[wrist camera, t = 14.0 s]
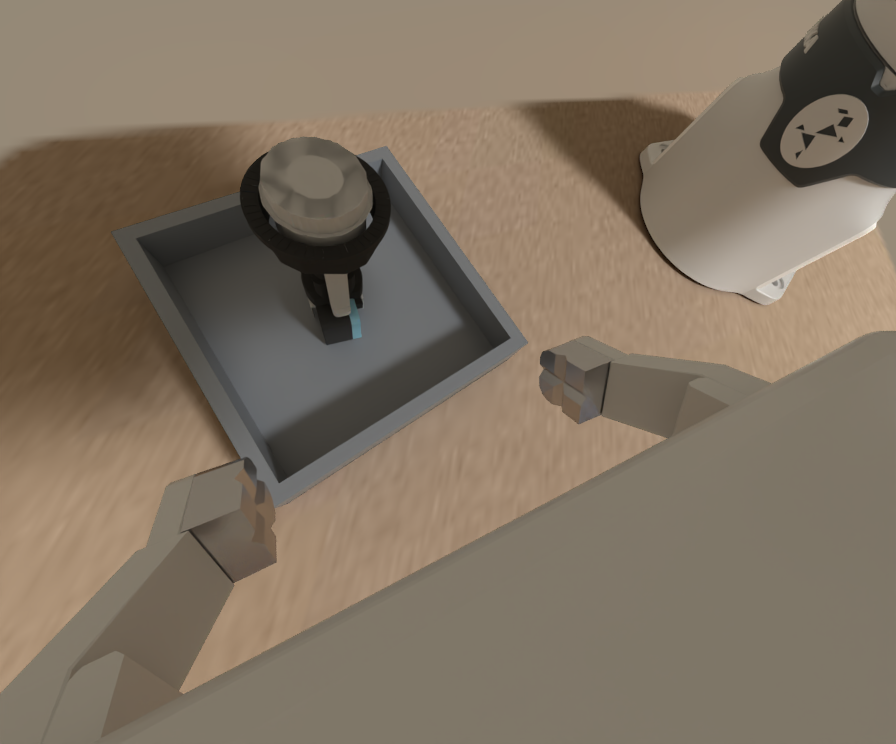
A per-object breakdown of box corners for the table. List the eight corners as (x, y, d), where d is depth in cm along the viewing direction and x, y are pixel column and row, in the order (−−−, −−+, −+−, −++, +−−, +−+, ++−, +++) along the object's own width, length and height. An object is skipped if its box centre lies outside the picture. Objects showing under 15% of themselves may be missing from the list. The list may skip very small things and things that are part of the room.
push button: (277, 259, 21) (207, 90, 12) (362, 247, 23) (360, 89, 13) (303, 357, 20) (247, 253, 11) (391, 337, 21) (411, 230, 12)
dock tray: (383, 187, 26) (386, 145, 22) (506, 360, 24) (528, 342, 21) (151, 271, 20) (110, 231, 17) (287, 503, 18) (270, 510, 15)
